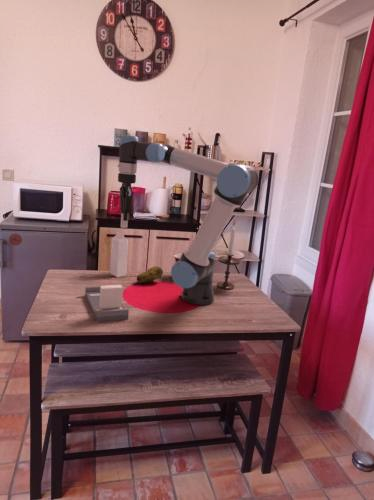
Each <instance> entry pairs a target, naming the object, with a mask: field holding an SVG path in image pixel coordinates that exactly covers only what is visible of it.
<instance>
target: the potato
mask: <svg viewBox="0 0 374 500" xmlns="http://www.w3.org/2000/svg"><path fill="white" fill-rule="evenodd" d="M163 272H164V271H163V269H162V268H161V267H159V266H157V265H156V266H152V267H150V268H148V269H147V270H146V271H143V272H141V273H140V274H137V276H136V281H137V282H138V283H140V284H143V283H151V282H154V281H156V280H158V279H162V276H163Z"/></svg>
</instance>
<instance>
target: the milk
mask: <svg viewBox="0 0 374 500" xmlns="http://www.w3.org/2000/svg"><path fill="white" fill-rule="evenodd" d="M128 251H129V239H128V238H127V237H125V234H124V233H121V232H119V231H116V234H115V235H114V236H113V237H112V238H111V249H110V267H109V274H110V275H112V276H114V277H116V278H119V277H123V276H126V275H127V267H128V256H129V255H128V253H129V252H128ZM110 271H111V272H110Z"/></svg>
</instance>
